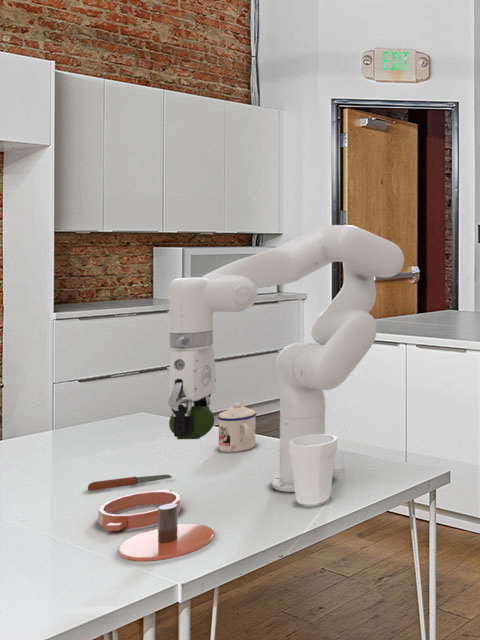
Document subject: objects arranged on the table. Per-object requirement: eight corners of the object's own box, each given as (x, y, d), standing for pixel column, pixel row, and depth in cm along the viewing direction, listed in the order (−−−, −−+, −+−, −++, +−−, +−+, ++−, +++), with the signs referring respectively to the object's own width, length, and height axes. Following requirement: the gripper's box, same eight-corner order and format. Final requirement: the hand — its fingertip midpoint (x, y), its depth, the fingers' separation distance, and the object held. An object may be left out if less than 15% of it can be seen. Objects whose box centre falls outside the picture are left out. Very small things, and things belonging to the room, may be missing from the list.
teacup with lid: (212, 447, 193) (212, 403, 192) (248, 440, 199) (249, 397, 199) (228, 457, 184) (229, 411, 184) (266, 450, 191) (266, 405, 190)
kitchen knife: (87, 493, 158) (87, 483, 158) (88, 491, 159) (88, 482, 159) (171, 481, 166) (172, 473, 166) (172, 480, 167) (172, 471, 167)
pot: (199, 499, 155) (199, 485, 155) (150, 536, 136) (151, 520, 136) (131, 501, 154) (131, 487, 154) (73, 538, 135) (73, 522, 135)
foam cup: (322, 490, 161) (322, 431, 161) (345, 500, 155) (346, 439, 155) (280, 502, 153) (280, 440, 153) (303, 513, 147) (303, 449, 147)
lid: (227, 529, 139) (227, 491, 139) (190, 563, 125) (190, 521, 125) (147, 531, 138) (147, 493, 138) (100, 565, 124) (100, 523, 124)
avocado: (219, 432, 148) (219, 402, 148) (205, 440, 142) (205, 409, 142) (178, 432, 148) (178, 403, 147) (163, 441, 142) (162, 410, 141)
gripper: (189, 347, 136) (190, 444, 136) (230, 334, 153) (230, 419, 154) (147, 347, 136) (148, 444, 136) (193, 334, 153) (193, 420, 153)
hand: (192, 430), depth 145 cm, fingers closed on avocado, 6 cm apart
